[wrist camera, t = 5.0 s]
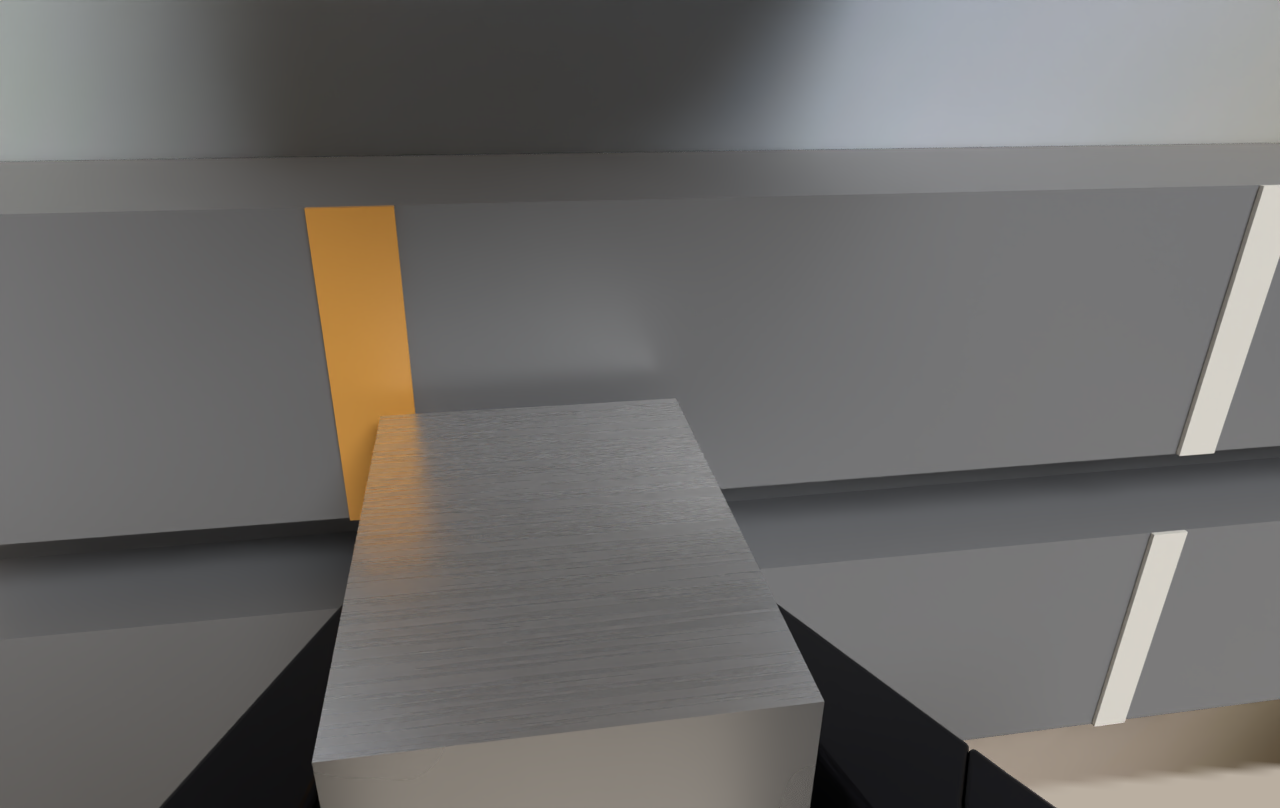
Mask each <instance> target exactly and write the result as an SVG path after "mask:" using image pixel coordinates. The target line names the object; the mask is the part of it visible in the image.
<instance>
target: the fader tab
mask: <svg viewBox="0 0 1280 808" xmlns="http://www.w3.org/2000/svg"><path fill="white" fill-rule="evenodd" d="M823 709H824V700H823V698H822V696H821V694H820V691H819V689H818V687H817V685H816V683H815V681H814V679H813V677H812V675H811V673H810V671H809V669H808V667H807V665H806V663H805V661H804V659H803V657H802V655H801V653H800V651H799V649H798V647H797V645H796V643H795V641H794V638H793V636H792V634H791V632H790V630H789V628H788V626H787V624H786V622H785V620H784V618H783V616H782V614H781V612H780V610H779V608H778V606H777V604H776V602H775V600H774V598H773V596H772V594H771V592H770V590H769V588H768V585H767V583H766V581H765V579H764V577H763V575H762V573H761V571H760V569H759V567H758V565H757V563H756V561H755V559H754V557H753V555H752V553H751V551H750V549H749V547H748V545H747V543H746V541H745V539H744V537H743V535H742V532H741V530H740V528H739V526H738V524H737V522H736V520H735V518H734V516H733V514H732V512H731V510H730V508H729V506H728V504H727V502H726V500H725V498H724V496H723V494H722V492H721V490H720V488H719V486H718V484H717V482H716V480H715V477H714V475H713V473H712V471H711V469H710V467H709V465H708V463H707V461H706V459H705V457H704V455H703V453H702V451H701V449H700V447H699V445H698V443H697V441H696V439H695V437H694V435H693V433H692V431H691V429H690V427H689V424H688V422H687V420H686V418H685V416H684V414H683V412H682V410H681V408H680V406H679V404H678V402H677V400H676V398H672V399H655V400H639V401H622V402H605V403H589V404H572V405H555V406H539V407H522V408H505V409H489V410H472V411H455V412H439V413H422V414H405V415H389V416H380V420H379V425H378V430H377V435H376V440H375V445H374V450H373V456H372V461H371V466H370V471H369V476H368V481H367V486H366V491H365V496H364V501H363V506H362V511H361V516H360V521H359V526H358V531H357V536H356V542H355V547H354V552H353V557H352V562H351V567H350V572H349V577H348V582H347V587H346V592H345V597H344V602H343V607H342V612H341V617H340V622H339V628H338V633H337V638H336V643H335V648H334V653H333V658H332V663H331V668H330V673H329V678H328V683H327V688H326V693H325V698H324V703H323V708H322V714H321V719H320V724H319V729H318V734H317V739H316V744H315V749H314V754H313V759H312V766H313V772H314V777H315V782H316V787H317V792H318V797H319V802H320V807H321V808H810V803H811V796H812V788H813V781H814V774H815V767H816V759H817V752H818V745H819V738H820V730H821V723H822V716H823Z"/></svg>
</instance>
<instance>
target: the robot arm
mask: <svg viewBox="0 0 1280 808" xmlns="http://www.w3.org/2000/svg"><path fill="white" fill-rule="evenodd" d="M776 604H777V603H776ZM777 606H778V608H779V610H780V612H781V614H782V616H783V618H784V620H785V622H786V624H787V626H788V628H789V630H790V632H791V634H792V636H793V638H794V641H795V643H796V645H797V647H798V649H799V651H800V653H801V655H802V657H803V659H804V661H805V663H806V665H807V667H808V669H809V671H810V673H811V675H812V677H813V679H814V681H815V683H816V685H817V687H818V689H819V691H820V694H821V696H822V698H823V700H824V709H823V716H822V723H821V730H820V738H819V745H818V752H817V759H816V767H815V774H814V781H813V788H812V796H811V803H810V808H1056V807H1054V806H1053V805H1052V804H1050V803H1049V802H1047V801H1046V800H1045V799H1043V798H1042V797H1040V796H1039V795H1037V794H1036V793H1035V792H1033V791H1032V790H1030V789H1029V788H1028V787H1026V786H1025V785H1023V784H1022V783H1020V782H1019V781H1018V780H1016V779H1015V778H1013V777H1012V776H1011V775H1009V774H1008V773H1006V772H1005V771H1004V770H1002V769H1001V768H1000V767H998V766H997V765H995V764H994V763H993V762H991V761H990V760H989V759H987V758H986V757H985V756H983V755H982V754H981V753H979V752H978V751H976V750H970V751H969V747H968V745H967V744H966V743H965V742H964V741H963V740H961V739H960V738H958V737H957V736H956V735H954V734H953V733H952V732H950V731H949V730H948V729H946V728H945V727H944V726H942V725H941V724H939V723H938V722H937V721H935V720H934V719H933V718H931V717H930V716H929V715H927V714H926V713H925V712H923V711H922V710H921V709H919V708H918V707H916V706H915V705H914V704H912V703H911V702H910V701H908V700H907V699H906V698H904V697H903V696H902V695H900V694H899V693H898V692H896V691H895V690H893V689H892V688H891V687H889V686H888V685H887V684H885V683H884V682H883V681H881V680H880V679H879V678H877V677H876V676H874V675H873V674H872V673H870V672H869V671H868V670H866V669H865V668H864V667H862V666H861V665H860V664H858V663H857V662H856V661H854V660H853V659H851V658H850V657H849V656H847V655H846V654H845V653H843V652H842V651H841V650H839V649H838V648H837V647H835V646H834V645H833V644H831V643H830V642H828V641H827V640H826V639H824V638H823V637H822V636H820V635H819V634H818V633H816V632H815V631H814V630H812V629H811V628H810V627H808V626H807V625H805V624H804V623H803V622H801V621H800V620H799V619H797V618H796V617H795V616H793V615H792V614H791V613H789V612H788V611H786V610H785V609H784V608H782V607H781V606H780V605H778V604H777ZM342 607H343V604H342V605H341V606H340V608H339V609H338V610H337V611H336V612H335V613H334V614H333V615H332V616H331V617H330V619H329V620H328V621H327V622H326V623H325V624H324V625H323V626H322V627H321V629H320V630H319V631H318V632H317V633H316V634H315V635H314V636H313V637H312V639H311V640H310V641H309V642H308V643H307V644H306V645H305V646H304V647H303V648H302V650H301V651H300V652H299V653H298V654H297V655H296V656H295V657H294V658H293V660H292V661H291V662H290V663H289V664H288V665H287V666H286V667H285V668H284V669H283V671H282V672H281V673H280V674H279V675H278V676H277V677H276V678H275V679H274V681H273V682H272V683H271V684H270V685H269V686H268V687H267V688H266V689H265V691H264V692H263V693H262V694H261V695H260V696H259V697H258V698H257V699H256V700H255V702H254V703H253V704H252V705H251V706H250V707H249V708H248V709H247V710H246V712H245V713H244V714H243V715H242V716H241V717H240V718H239V719H238V720H237V721H236V723H235V724H234V725H233V726H232V727H231V728H230V729H229V730H228V731H227V733H226V734H225V735H224V736H223V737H222V738H221V739H220V740H219V741H218V743H217V744H216V745H215V746H214V747H213V748H212V749H211V750H210V751H209V752H208V754H207V755H206V756H205V757H204V758H203V759H202V760H201V761H200V762H199V764H198V765H197V766H196V767H195V768H194V769H193V770H192V771H191V772H190V774H189V775H188V776H187V777H186V778H185V779H184V780H183V781H182V782H181V783H180V785H179V786H178V787H177V788H176V789H175V790H174V791H173V792H172V793H171V795H170V796H169V797H168V798H167V799H166V800H165V801H164V802H163V803H162V804H161V806H160V807H159V808H321V807H320V802H319V797H318V792H317V787H316V782H315V777H314V772H313V766H312V759H313V754H314V749H315V744H316V739H317V734H318V729H319V724H320V719H321V714H322V708H323V703H324V698H325V693H326V688H327V683H328V678H329V673H330V668H331V663H332V658H333V653H334V648H335V643H336V638H337V633H338V628H339V622H340V617H341V612H342ZM968 752H969V753H968Z"/></svg>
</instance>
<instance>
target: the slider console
mask: <svg viewBox="0 0 1280 808" xmlns="http://www.w3.org/2000/svg"><path fill="white" fill-rule="evenodd" d="M672 398H676V400H677V402H678V404H679V406H680V408H681V410H682V412H683V414H684V416H685V418H686V420H687V422H688V424H689V427H690V429H691V431H692V433H693V435H694V437H695V439H696V441H697V443H698V445H699V447H700V449H701V451H702V453H703V455H704V457H705V459H706V461H707V463H708V465H709V467H710V469H711V471H712V473H713V475H714V477H715V480H716V482H717V484H718V486H719V488H720V490H721V492H722V494H723V496H724V498H725V500H726V502H727V504H728V506H729V508H730V510H731V512H732V514H733V516H734V518H735V520H736V522H737V524H738V526H739V528H740V530H741V532H742V535H743V537H744V539H745V541H746V543H747V545H748V547H749V549H750V551H751V553H752V555H753V557H754V559H755V561H756V563H757V565H758V567H759V569H760V571H761V573H762V575H763V577H764V579H765V581H766V583H767V585H768V588H769V590H770V592H771V594H772V596H773V598H774V600H775V602H776V603H777V604H778V605H780V606H781V607H782V608H784V609H785V610H786V611H788V612H789V613H791V614H792V615H793V616H795V617H796V618H797V619H799V620H800V621H801V622H803V623H804V624H805V625H807V626H808V627H810V628H811V629H812V630H814V631H815V632H816V633H818V634H819V635H820V636H822V637H823V638H824V639H826V640H827V641H828V642H830V643H831V644H833V645H834V646H835V647H837V648H838V649H839V650H841V651H842V652H843V653H845V654H846V655H847V656H849V657H850V658H851V659H853V660H854V661H856V662H857V663H858V664H860V665H861V666H862V667H864V668H865V669H866V670H868V671H869V672H870V673H872V674H873V675H874V676H876V677H877V678H879V679H880V680H881V681H883V682H884V683H885V684H887V685H888V686H889V687H891V688H892V689H893V690H895V691H896V692H898V693H899V694H900V695H902V696H903V697H904V698H906V699H907V700H908V701H910V702H911V703H912V704H914V705H915V706H916V707H918V708H919V709H921V710H922V711H923V712H925V713H926V714H927V715H929V716H930V717H931V718H933V719H934V720H935V721H937V722H938V723H939V724H941V725H942V726H944V727H945V728H946V729H948V730H949V731H950V732H952V733H953V734H954V735H956V736H957V737H958V738H960V739H961V740H969V739H977V738H985V737H992V736H1000V735H1008V734H1015V733H1023V732H1031V731H1039V730H1046V729H1054V728H1062V727H1069V726H1077V725H1085V724H1093V726H1094V727H1095V726H1102V725H1110V724H1118V723H1124V722H1125V719H1131V718H1139V717H1146V716H1154V715H1162V714H1169V713H1177V712H1185V711H1192V710H1200V709H1208V708H1215V707H1223V706H1231V705H1239V704H1246V703H1254V702H1262V701H1269V700H1277V699H1280V143H1239V144H1171V145H1102V146H1033V147H965V148H896V149H827V150H759V151H690V152H621V153H553V154H484V155H415V156H347V157H278V158H210V159H141V160H72V161H4V162H0V808H159V807H160V806H161V804H162V803H163V802H164V801H165V800H166V799H167V798H168V797H169V796H170V795H171V793H172V792H173V791H174V790H175V789H176V788H177V787H178V786H179V785H180V783H181V782H182V781H183V780H184V779H185V778H186V777H187V776H188V775H189V774H190V772H191V771H192V770H193V769H194V768H195V767H196V766H197V765H198V764H199V762H200V761H201V760H202V759H203V758H204V757H205V756H206V755H207V754H208V752H209V751H210V750H211V749H212V748H213V747H214V746H215V745H216V744H217V743H218V741H219V740H220V739H221V738H222V737H223V736H224V735H225V734H226V733H227V731H228V730H229V729H230V728H231V727H232V726H233V725H234V724H235V723H236V721H237V720H238V719H239V718H240V717H241V716H242V715H243V714H244V713H245V712H246V710H247V709H248V708H249V707H250V706H251V705H252V704H253V703H254V702H255V700H256V699H257V698H258V697H259V696H260V695H261V694H262V693H263V692H264V691H265V689H266V688H267V687H268V686H269V685H270V684H271V683H272V682H273V681H274V679H275V678H276V677H277V676H278V675H279V674H280V673H281V672H282V671H283V669H284V668H285V667H286V666H287V665H288V664H289V663H290V662H291V661H292V660H293V658H294V657H295V656H296V655H297V654H298V653H299V652H300V651H301V650H302V648H303V647H304V646H305V645H306V644H307V643H308V642H309V641H310V640H311V639H312V637H313V636H314V635H315V634H316V633H317V632H318V631H319V630H320V629H321V627H322V626H323V625H324V624H325V623H326V622H327V621H328V620H329V619H330V617H331V616H332V615H333V614H334V613H335V612H336V611H337V610H338V609H339V608H340V606H341V605H342V604H343V602H344V597H345V592H346V587H347V582H348V577H349V572H350V567H351V562H352V557H353V552H354V547H355V542H356V536H357V531H358V526H359V521H360V516H361V511H362V506H363V501H364V496H365V491H366V486H367V481H368V476H369V471H370V466H371V461H372V456H373V450H374V445H375V440H376V435H377V430H378V425H379V420H380V416H389V415H405V414H422V413H439V412H455V411H472V410H489V409H505V408H522V407H539V406H555V405H572V404H589V403H605V402H622V401H639V400H655V399H672Z"/></svg>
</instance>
